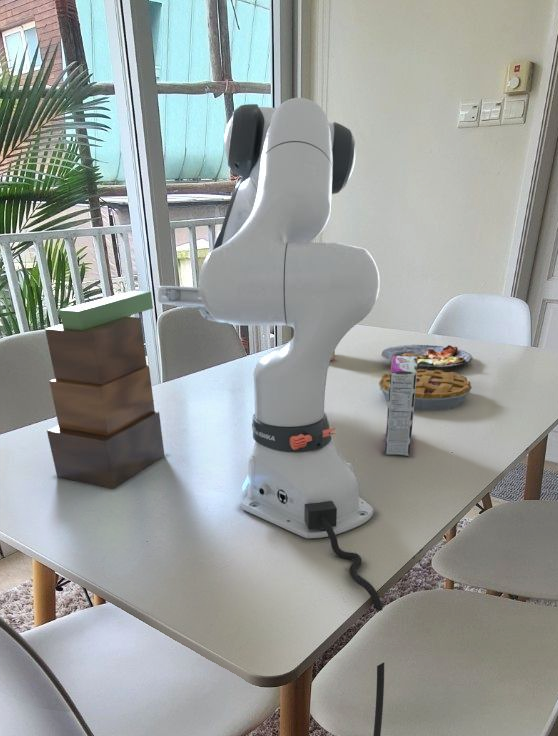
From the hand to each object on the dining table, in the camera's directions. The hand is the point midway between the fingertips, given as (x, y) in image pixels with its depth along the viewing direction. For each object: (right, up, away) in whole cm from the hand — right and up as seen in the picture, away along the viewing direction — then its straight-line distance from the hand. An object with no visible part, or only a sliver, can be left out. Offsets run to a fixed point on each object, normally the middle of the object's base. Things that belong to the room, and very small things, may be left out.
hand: (181, 293), depth 128 cm
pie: (+55, -17, +21) cm, 61 cm away
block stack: (-11, -36, -9) cm, 39 cm away
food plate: (+62, -1, +49) cm, 79 cm away
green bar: (-10, -12, -18) cm, 24 cm away
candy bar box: (+44, -32, -4) cm, 55 cm away
